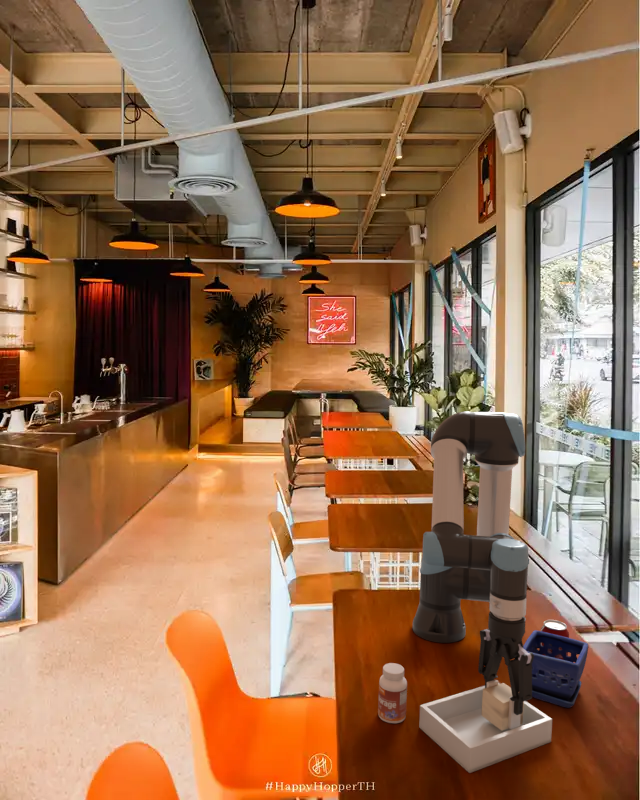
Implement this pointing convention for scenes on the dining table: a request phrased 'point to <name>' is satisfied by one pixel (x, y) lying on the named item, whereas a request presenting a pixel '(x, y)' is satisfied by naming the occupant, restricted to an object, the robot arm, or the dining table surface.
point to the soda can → (555, 632)
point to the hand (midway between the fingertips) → (502, 717)
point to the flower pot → (556, 667)
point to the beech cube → (497, 705)
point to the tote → (480, 730)
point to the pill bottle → (392, 694)
